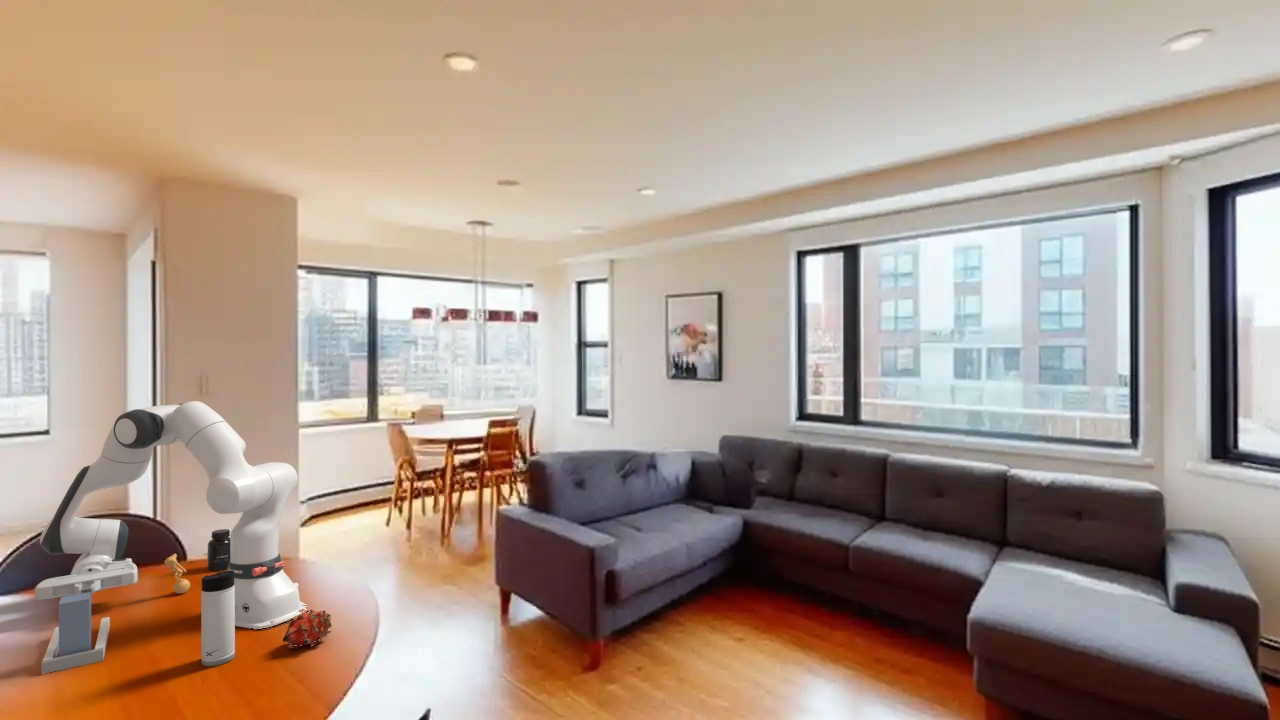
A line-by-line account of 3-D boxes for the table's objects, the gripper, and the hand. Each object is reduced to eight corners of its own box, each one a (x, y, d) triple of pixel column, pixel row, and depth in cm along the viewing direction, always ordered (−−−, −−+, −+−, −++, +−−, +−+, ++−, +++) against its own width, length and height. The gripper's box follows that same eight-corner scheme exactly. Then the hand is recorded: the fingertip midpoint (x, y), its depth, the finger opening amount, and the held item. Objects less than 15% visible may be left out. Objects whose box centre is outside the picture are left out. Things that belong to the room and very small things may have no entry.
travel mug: (210, 670, 135) (209, 579, 135) (196, 661, 138) (196, 573, 138) (240, 658, 140) (240, 571, 140) (226, 650, 144) (226, 565, 143)
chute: (55, 637, 149) (55, 627, 149) (109, 626, 156) (109, 616, 156) (41, 674, 132) (41, 663, 132) (103, 660, 139) (103, 649, 139)
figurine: (198, 593, 177) (197, 551, 177) (175, 600, 172) (175, 558, 172) (180, 588, 181) (180, 547, 181) (157, 595, 175) (157, 554, 175)
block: (61, 658, 140) (61, 597, 139) (91, 651, 143) (91, 591, 142) (58, 667, 136) (58, 604, 135) (89, 660, 139) (89, 598, 139)
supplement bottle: (219, 572, 194) (219, 534, 194) (201, 570, 195) (201, 533, 195) (238, 565, 200) (238, 528, 200) (220, 563, 202) (220, 527, 202)
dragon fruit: (336, 640, 152) (288, 668, 142) (317, 615, 155) (268, 641, 145) (344, 619, 149) (295, 647, 139) (325, 594, 152) (275, 619, 141)
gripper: (38, 572, 162) (29, 588, 151) (138, 556, 174) (136, 570, 163) (38, 596, 162) (29, 614, 151) (138, 578, 174) (137, 594, 163)
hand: (86, 591), depth 157 cm, fingers closed
